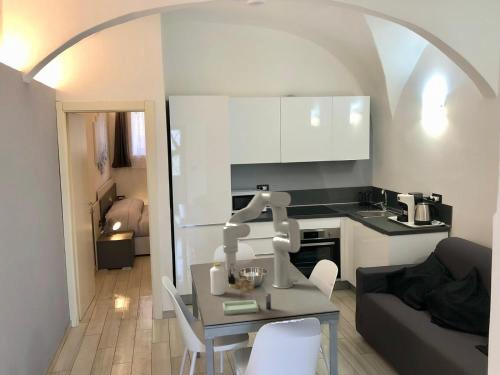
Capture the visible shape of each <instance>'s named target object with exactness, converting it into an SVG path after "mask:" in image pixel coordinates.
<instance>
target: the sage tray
mask: <svg viewBox="0 0 500 375" xmlns="http://www.w3.org/2000/svg"><path fill="white" fill-rule="evenodd" d="M221 303H222V304H221V305H222V311H223V315H224V316H227V315H243V314H253V313H252V312H256V313H259V306H258V303H257V301H256V299H248V300H235V301H234V300H233V301H222V302H221Z"/></svg>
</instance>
